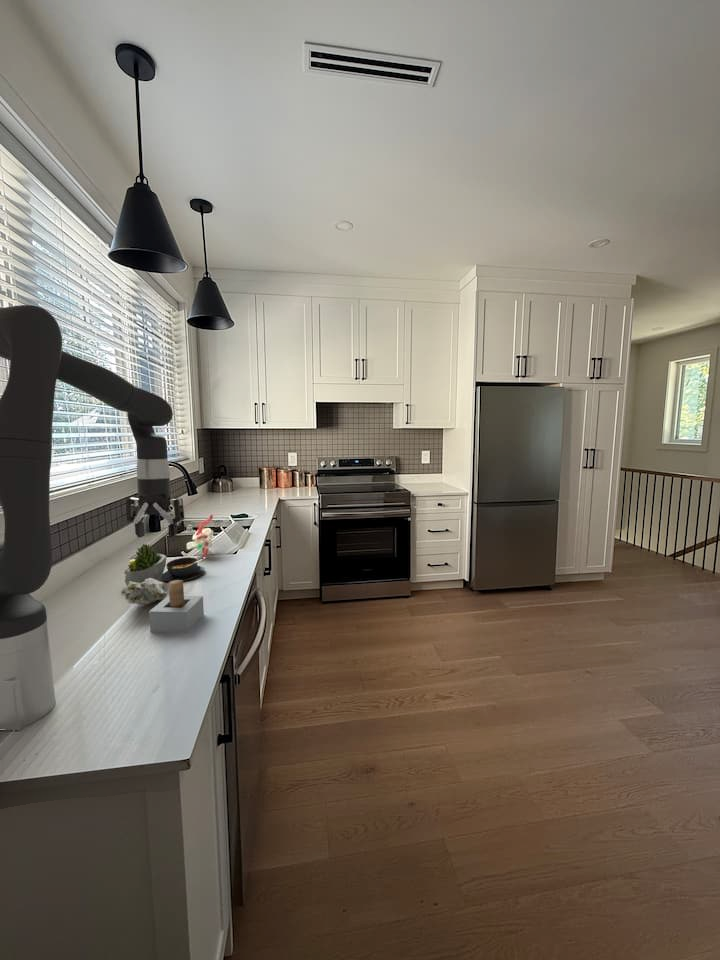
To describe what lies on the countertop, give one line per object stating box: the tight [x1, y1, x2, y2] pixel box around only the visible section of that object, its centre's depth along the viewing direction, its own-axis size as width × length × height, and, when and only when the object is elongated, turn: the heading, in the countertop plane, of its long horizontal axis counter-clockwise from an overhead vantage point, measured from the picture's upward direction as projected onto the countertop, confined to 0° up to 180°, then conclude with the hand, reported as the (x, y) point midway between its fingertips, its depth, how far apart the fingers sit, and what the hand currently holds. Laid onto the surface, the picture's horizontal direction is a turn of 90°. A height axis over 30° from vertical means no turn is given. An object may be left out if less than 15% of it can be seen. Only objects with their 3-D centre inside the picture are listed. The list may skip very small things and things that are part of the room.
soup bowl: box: [161, 556, 206, 583], centre depth 144 cm, size 15×16×7 cm
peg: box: [168, 580, 185, 608], centre depth 108 cm, size 4×4×12 cm
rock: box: [120, 578, 169, 607], centre depth 119 cm, size 19×11×10 cm, turn 16°
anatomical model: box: [185, 514, 214, 558], centre depth 164 cm, size 15×11×18 cm
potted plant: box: [124, 543, 167, 587], centre depth 134 cm, size 12×13×15 cm
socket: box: [148, 595, 205, 634], centre depth 108 cm, size 10×10×6 cm
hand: (156, 537), depth 104 cm, fingers open, 8 cm apart
